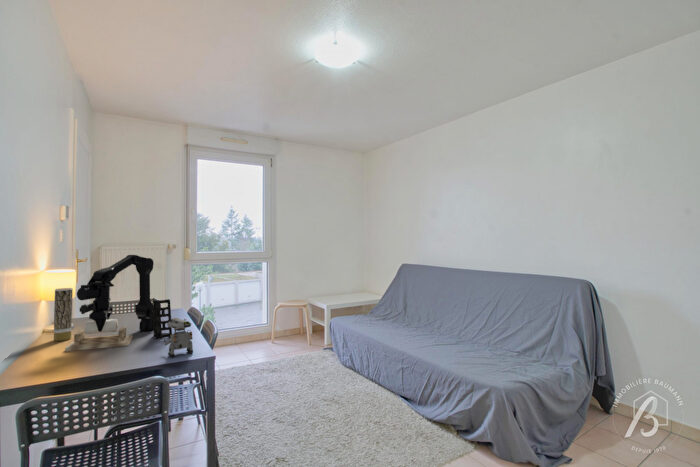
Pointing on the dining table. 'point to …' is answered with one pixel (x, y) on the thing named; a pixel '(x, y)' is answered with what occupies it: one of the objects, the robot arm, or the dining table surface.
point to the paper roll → (108, 327)
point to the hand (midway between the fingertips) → (101, 330)
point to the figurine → (179, 336)
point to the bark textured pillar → (63, 314)
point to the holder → (157, 318)
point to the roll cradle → (99, 341)
